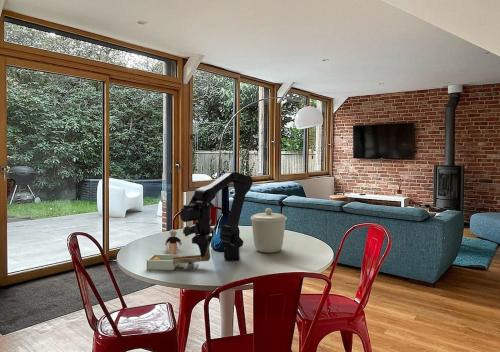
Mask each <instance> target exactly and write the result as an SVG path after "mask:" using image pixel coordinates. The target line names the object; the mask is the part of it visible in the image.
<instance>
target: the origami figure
mask: <svg viewBox="0 0 500 352" xmlns="http://www.w3.org/2000/svg"><path fill="white" fill-rule="evenodd" d="M165 243H166V241H165V242H164V246H165V250H166V251H167V252H169V243H170V242H168V244H167V245H165ZM176 243H177V251H178V250H180V248H179V247H181V246H182V244H181V245H180V243H179V242H176Z"/></svg>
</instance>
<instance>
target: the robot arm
mask: <svg viewBox="0 0 500 352" xmlns="http://www.w3.org/2000/svg"><path fill="white" fill-rule="evenodd" d="M231 183H233V186H232V187H233V190H234V195H233V199H232V203H231V207H230V211H229V216H228V219H227V222H226V223H225V225H224V224H222V225H221V226H220V227H221V228H220V231H219V238H220V241H221V244H222V246H225V247H224V249H223V258H224V261H235V262H237V261H238V262H239V261H240V258H241V255H240V254H241V253H240V252H241V251H240V248H241V247H243V245H244V240H243V239H242V238H241V236H240V234H241V233H240V232H241V230H240V226H239V222H240V219H241V214H242V211H243V208H244V203H245V198H246V195H247V194H248V192H249V191H250V190H251V188H252V185H253V183H254V181H253V178H252V176H251V175H248V174H243V173H239V172H237V171H236V170H227V171H226V172H225V173H224V174H222V175H220V177H218V178H217V179H215V180H214V181H212V182H211V183H210V184H208V185H203V186H200V187H198V188H196V189H195V191H194V194H193V195H192V197H191V199H190V202H189V203H188V204H183V206H182V208H181V210H180V213H179V218H180V220H181V221H182V222H184V223H188V222H194V221H195V223H194V224H192V225H187V226H184V228H183V229H182V234H184V236H185V238H187V237H189V236H190V235H193V234H194V236H193V237H192V238H191V244H192V245H193V244H194V245H197V247H198V249H199V252H200V253H201V254H200V255H201V257H204V256H205V253H206V250H207V248H208V245H209V247H210V246H211V243H212V240H213V238H214V235H215V233H216V232H215V231H216V230H215V228H214V227H212V226H211V223H212V219H211V208H214V207H215V205H214V204H213V203H212V201H214V199H215V198H216V196H217V194H218V193H219V192H220V191H222V190H223V189H224V188H225V187H226V186H228V185H230V184H231Z"/></svg>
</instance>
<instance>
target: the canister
mask: <svg viewBox="0 0 500 352" xmlns="http://www.w3.org/2000/svg"><path fill="white" fill-rule="evenodd" d="M287 219H288V218H287V216H286V215H283V213H277V212H273V209H272V208H270V207H268V208H265V209H264V212H260V213H259V212H258V213H254V214H253V215H251V216H250V220H251V226H252V227H251V228H252V236H253V242H254V243H253V244H254V247H255V250H256V251H258V252H260V253H265V254H270V253H272V254H274V253H277V252H280V251H281V250H282V248H283V244H284V238H285V237H284V236H285V230H286V229H285V228H286V220H287Z"/></svg>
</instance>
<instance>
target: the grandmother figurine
mask: <svg viewBox="0 0 500 352" xmlns="http://www.w3.org/2000/svg"><path fill="white" fill-rule="evenodd" d="M169 234H170V236H169V237H168V238H167V239H166V240H165V242H166V243H165V242H164V244H165V245H166V246H168V250H169V251H168V255H178V249H177V247H178V243H177V242H179V243H180V245H181V246H182V244H183V243H182V240H181V239H180V238H179V237H177V234H178V232H177V230H176V229H170V230H169ZM168 242H170V243H169V245H168ZM165 245H164V246H165Z"/></svg>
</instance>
